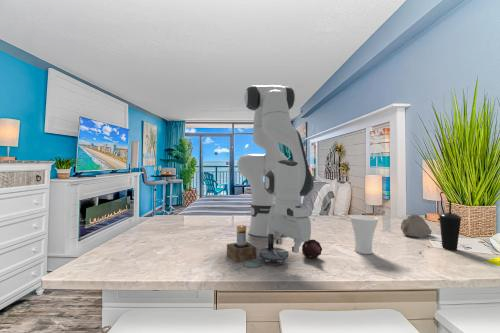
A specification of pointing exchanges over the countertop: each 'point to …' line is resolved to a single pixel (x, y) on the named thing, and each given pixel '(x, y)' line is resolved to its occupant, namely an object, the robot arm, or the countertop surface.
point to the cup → (363, 232)
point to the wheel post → (274, 262)
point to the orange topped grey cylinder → (241, 236)
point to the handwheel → (273, 251)
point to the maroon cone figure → (311, 249)
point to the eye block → (241, 252)
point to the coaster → (252, 264)
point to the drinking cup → (450, 229)
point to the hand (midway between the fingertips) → (286, 248)
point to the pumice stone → (415, 226)
